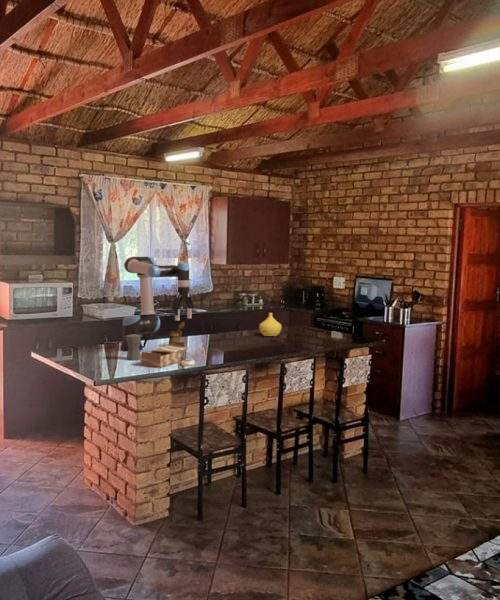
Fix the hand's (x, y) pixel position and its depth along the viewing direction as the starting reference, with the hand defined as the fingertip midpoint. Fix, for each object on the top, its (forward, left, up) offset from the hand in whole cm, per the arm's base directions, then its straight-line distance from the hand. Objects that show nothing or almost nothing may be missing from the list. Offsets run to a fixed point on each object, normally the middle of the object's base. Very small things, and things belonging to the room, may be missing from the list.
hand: (183, 319), depth 361 cm
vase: (-113, +9, -25) cm, 116 cm away
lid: (+14, 0, -18) cm, 22 cm away
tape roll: (+18, +16, -25) cm, 35 cm away
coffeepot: (+21, -22, -25) cm, 40 cm away
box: (+24, 0, -25) cm, 35 cm away
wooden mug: (-30, -26, -25) cm, 47 cm away
